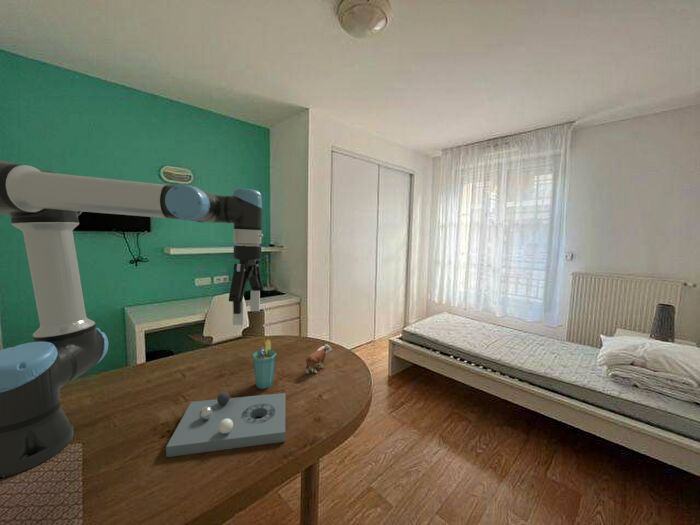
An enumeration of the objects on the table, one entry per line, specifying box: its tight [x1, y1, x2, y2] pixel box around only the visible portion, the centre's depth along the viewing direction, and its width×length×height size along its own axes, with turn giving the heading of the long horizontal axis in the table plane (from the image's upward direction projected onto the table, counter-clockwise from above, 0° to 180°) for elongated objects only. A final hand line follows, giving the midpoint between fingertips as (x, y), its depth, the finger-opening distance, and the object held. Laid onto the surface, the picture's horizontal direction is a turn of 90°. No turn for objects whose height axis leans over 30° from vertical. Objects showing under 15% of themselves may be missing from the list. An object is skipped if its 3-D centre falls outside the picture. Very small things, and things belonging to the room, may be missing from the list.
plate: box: [165, 392, 286, 458], centre depth 73 cm, size 26×17×2 cm, turn 103°
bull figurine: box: [305, 343, 333, 375], centre depth 105 cm, size 4×13×8 cm, turn 148°
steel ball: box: [199, 406, 213, 420], centre depth 71 cm, size 3×3×3 cm
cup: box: [251, 339, 277, 390], centre depth 92 cm, size 14×8×15 cm, turn 11°
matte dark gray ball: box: [216, 391, 231, 405], centre depth 78 cm, size 3×3×3 cm
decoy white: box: [219, 418, 233, 434], centre depth 67 cm, size 3×3×3 cm
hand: (247, 317), depth 82 cm, fingers open, 13 cm apart
